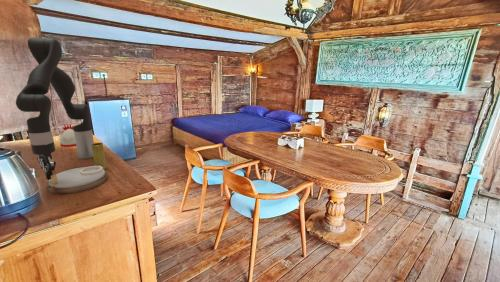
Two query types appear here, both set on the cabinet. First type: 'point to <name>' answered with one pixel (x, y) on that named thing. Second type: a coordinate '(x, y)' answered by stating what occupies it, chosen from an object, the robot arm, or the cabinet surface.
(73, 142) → the kitchen timer
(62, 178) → the turntable
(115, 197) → the cabinet surface
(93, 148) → the vase
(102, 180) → the turntable base
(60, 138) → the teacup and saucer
